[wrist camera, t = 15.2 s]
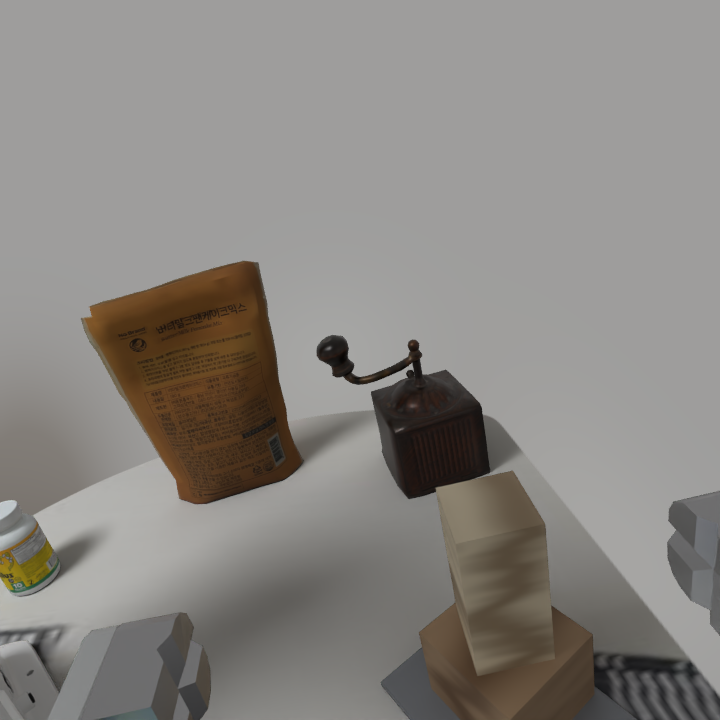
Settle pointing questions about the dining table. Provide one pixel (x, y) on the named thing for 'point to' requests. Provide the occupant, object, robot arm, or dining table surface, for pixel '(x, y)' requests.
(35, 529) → the supplement bottle
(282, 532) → the dining table surface
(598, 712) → the mat
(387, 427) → the manual coffee grinder
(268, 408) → the pancake mix bag
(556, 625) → the walnut block
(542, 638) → the oak column
